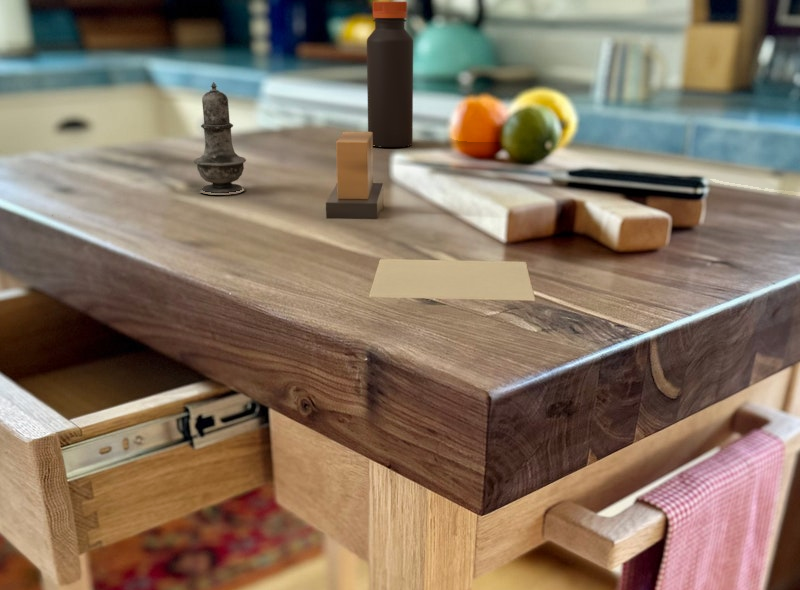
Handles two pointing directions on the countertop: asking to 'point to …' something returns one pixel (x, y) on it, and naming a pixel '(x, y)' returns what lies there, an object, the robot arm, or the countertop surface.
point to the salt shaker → (218, 146)
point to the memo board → (452, 280)
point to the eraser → (355, 180)
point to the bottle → (390, 76)
